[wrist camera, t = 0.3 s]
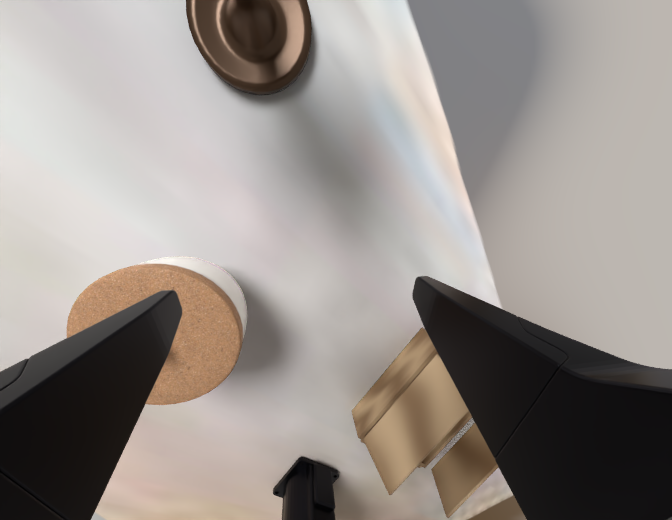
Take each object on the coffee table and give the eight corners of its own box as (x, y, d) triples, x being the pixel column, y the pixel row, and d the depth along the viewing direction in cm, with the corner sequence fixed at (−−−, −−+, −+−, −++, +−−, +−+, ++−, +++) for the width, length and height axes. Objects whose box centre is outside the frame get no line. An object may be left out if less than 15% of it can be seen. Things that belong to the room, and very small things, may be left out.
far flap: (431, 469, 29) (433, 471, 29) (446, 516, 24) (448, 517, 24) (499, 396, 28) (502, 397, 28) (530, 429, 23) (533, 431, 23)
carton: (411, 442, 33) (423, 469, 30) (350, 412, 30) (356, 439, 27) (480, 365, 32) (502, 385, 28) (423, 325, 29) (440, 342, 25)
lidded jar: (189, 361, 25) (130, 452, 16) (113, 279, 22) (-13, 337, 13) (277, 311, 25) (267, 374, 16) (215, 222, 22) (158, 241, 13)
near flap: (391, 494, 22) (389, 495, 22) (364, 439, 26) (363, 439, 26) (480, 397, 21) (479, 397, 20) (437, 355, 25) (436, 354, 25)
